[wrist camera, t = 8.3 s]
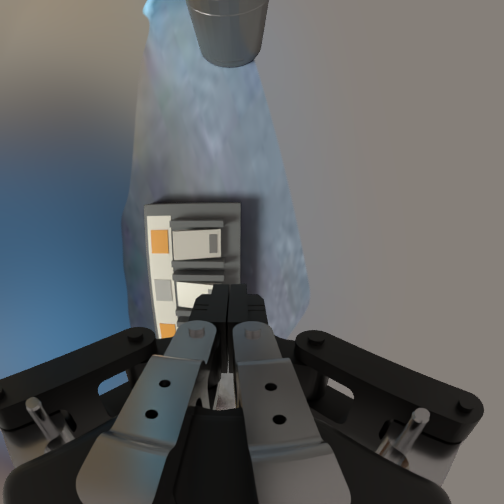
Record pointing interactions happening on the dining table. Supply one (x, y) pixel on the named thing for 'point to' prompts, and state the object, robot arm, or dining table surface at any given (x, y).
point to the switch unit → (203, 269)
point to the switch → (197, 243)
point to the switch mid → (192, 291)
